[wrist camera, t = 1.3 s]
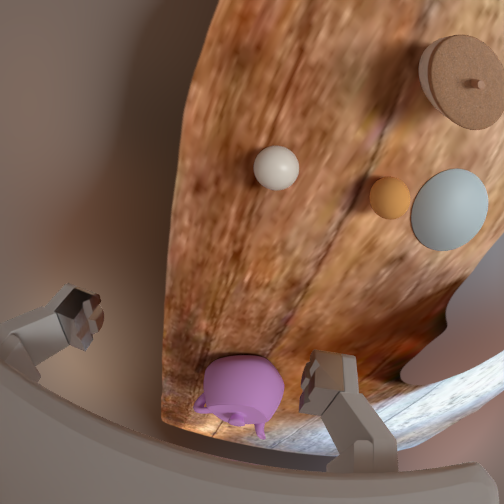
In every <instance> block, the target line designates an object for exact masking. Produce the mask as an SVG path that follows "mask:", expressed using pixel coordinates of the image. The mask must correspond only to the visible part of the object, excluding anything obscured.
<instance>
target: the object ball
mask: <svg viewBox="0 0 504 504" xmlns="http://www.w3.org/2000/svg"><path fill="white" fill-rule="evenodd" d="M369 199H370V204H371V207H372V209H373V210H374V211H375V213H376V214H377V215H379V216H380V217H382V218H385V219H396V218H399V217H401V216H402V215H403V214H404V213H405V212H406V211H407V209H408V207H409V205H410V193H409V190H408V188H407V186H406V185H405V184H404V183H403V182H402V181H401V180H399V179H397V178H395V177H383V178H381V179H379V180H377V181H376V182H375V183H374V184H373V186H372V188H371V190H370V195H369Z"/></svg>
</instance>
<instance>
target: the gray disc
mask: <svg viewBox="0 0 504 504" xmlns="http://www.w3.org/2000/svg"><path fill="white" fill-rule="evenodd" d="M487 211H488V195H487V191H486V189H485V186H484V184H483V183H482V181H481V180H480V179H479V178H478V177H477V176H476V175H475V174H473V173H471V172H469V171H467V170H463V169H449V170H446V171H443V172H440V173H438V174H437V175H435V176H434V177H432V178H431V179H430V180H429V181H428V182H426V183H425V185H424V186H423V187H422V188H421V190H420V191H419V193H418V195H417V197H416V199H415V201H414V204H413V208H412V214H411V222H412V227H413V231H414V233H415V235H416V237H417V238H418V240H419V241H420V242H421V243H422V244H423V245H425V246H426V247H428V248H430V249H433V250H437V251H448V250H453V249H456V248H458V247H461V246H462V245H464V244H466V243H467V242H469V241H470V240H471V239H472V238H473V237H474V236H475V235H476V234H477V233H478V231H479V230H480V228H481V227H482V225H483V223H484V221H485V218H486V215H487Z"/></svg>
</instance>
